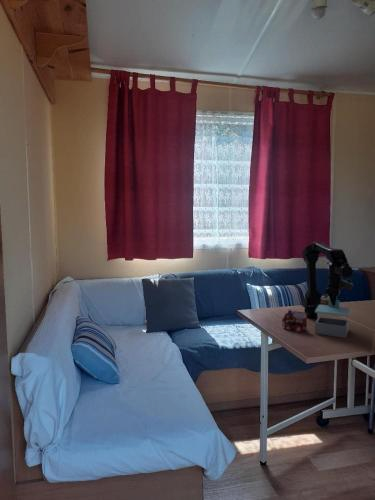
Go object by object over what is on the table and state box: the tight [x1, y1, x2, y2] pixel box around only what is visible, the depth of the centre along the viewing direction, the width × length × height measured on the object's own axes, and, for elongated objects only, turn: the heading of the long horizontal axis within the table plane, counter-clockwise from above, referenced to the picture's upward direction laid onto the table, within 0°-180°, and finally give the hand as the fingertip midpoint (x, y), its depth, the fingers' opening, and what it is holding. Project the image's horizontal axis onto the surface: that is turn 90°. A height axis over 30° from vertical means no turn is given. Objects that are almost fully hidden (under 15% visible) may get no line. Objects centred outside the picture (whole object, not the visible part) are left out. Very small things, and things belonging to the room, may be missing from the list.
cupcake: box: [320, 294, 330, 306], centre depth 217 cm, size 10×10×10 cm
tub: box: [314, 316, 350, 339], centre depth 174 cm, size 14×12×6 cm
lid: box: [315, 299, 350, 317], centre depth 173 cm, size 14×12×5 cm
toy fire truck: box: [281, 309, 308, 333], centre depth 178 cm, size 7×12×10 cm, turn 56°
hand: (333, 305), depth 178 cm, fingers closed on lid
